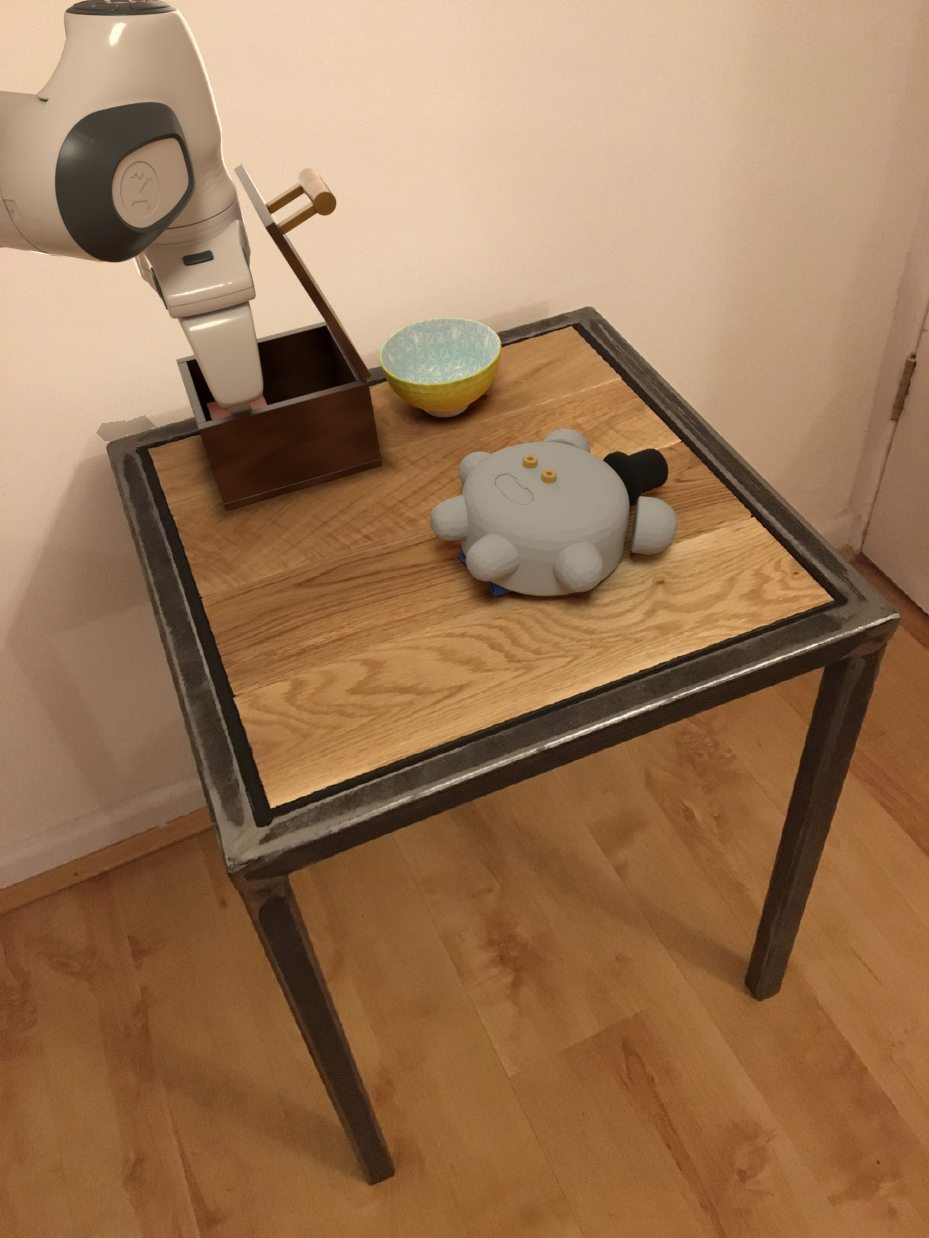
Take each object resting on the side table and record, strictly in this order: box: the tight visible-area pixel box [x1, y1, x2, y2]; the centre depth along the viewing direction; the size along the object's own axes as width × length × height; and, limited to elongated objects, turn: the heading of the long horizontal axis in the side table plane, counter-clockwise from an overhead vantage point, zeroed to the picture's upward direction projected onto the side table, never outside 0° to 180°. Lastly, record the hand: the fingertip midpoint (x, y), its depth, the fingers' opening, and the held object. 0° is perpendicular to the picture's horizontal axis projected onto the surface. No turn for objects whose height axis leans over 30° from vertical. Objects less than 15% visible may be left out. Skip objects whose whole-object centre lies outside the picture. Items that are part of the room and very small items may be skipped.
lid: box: [233, 163, 372, 381], centre depth 78 cm, size 15×12×6 cm
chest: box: [175, 320, 383, 512], centre depth 86 cm, size 15×12×9 cm
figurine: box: [429, 428, 678, 597], centre depth 76 cm, size 17×8×20 cm
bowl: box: [378, 316, 502, 418], centre depth 91 cm, size 11×12×6 cm
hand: (233, 393), depth 83 cm, fingers open, 6 cm apart
